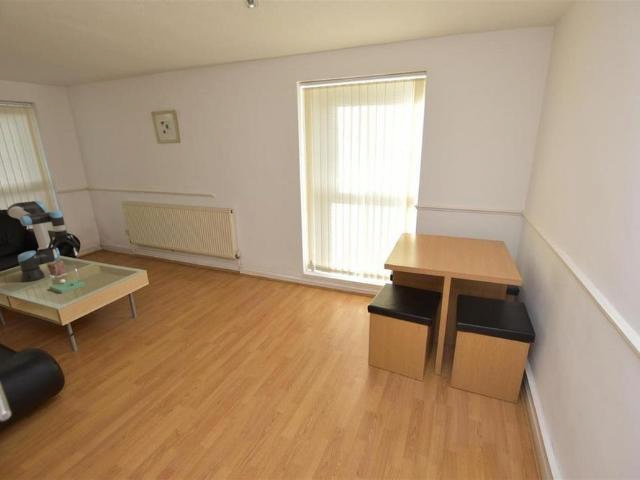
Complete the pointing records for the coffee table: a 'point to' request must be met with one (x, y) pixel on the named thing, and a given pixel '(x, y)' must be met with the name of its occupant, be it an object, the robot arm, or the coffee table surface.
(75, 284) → the green board
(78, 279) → the pin
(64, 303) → the coffee table surface
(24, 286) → the coffee table surface
